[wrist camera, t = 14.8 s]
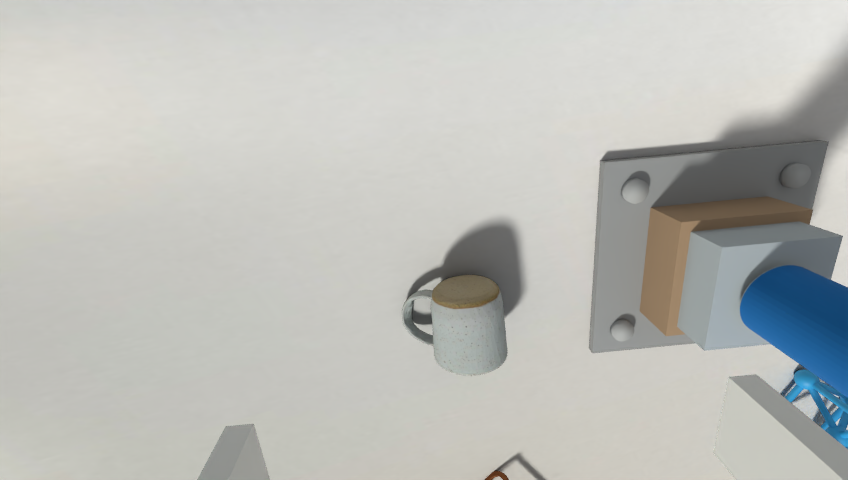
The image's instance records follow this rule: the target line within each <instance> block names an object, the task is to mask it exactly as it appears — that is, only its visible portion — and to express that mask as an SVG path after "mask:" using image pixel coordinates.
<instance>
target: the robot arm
mask: <svg viewBox="0 0 848 480" xmlns="http://www.w3.org/2000/svg"><path fill="white" fill-rule="evenodd" d="M713 453H714V454H715V456H716V457H717V458H718V459H719V460H720V461H721V463H722V464H723V465H724V466H725V467H726V469H727V470H728V471H729V472H730V473H731V475H732V476H733V477H734V478H735V479H736V480H848V449H847V448H846V447H844V446H843V445H842V444H841V443H839V442H838V441H837V440H836V439H835V438H833V437H832V436H831V435H830V434H828V433H827V432H826V431H825V430H823V429H822V428H821V427H820V426H819V425H817V424H816V423H815V422H814V421H812V420H811V419H810V418H809V417H808V416H806V415H805V414H804V413H803V412H801V411H800V410H799V409H798V408H797V407H795V406H794V405H793V404H792V403H790V402H789V401H788V400H787V399H786V398H784V397H783V396H782V395H781V394H779V393H778V392H777V391H776V390H775V389H773V388H772V387H771V386H770V385H768V384H767V383H766V382H765V381H764V380H762V379H761V378H760V377H759V376H757V375H756V374H755V375H745V376H735V377H729V378H728V383H727V388H726V393H725V397H724V402H723V407H722V412H721V417H720V422H719V427H718V432H717V437H716V442H715V447H714V451H713ZM197 480H270V478H269V475H268V471H267V468H266V464H265V461H264V458H263V454H262V451H261V447H260V444H259V440H258V437H257V434H256V430H255V427H254V424H247V425H237V426H226V427H225V429H224V431H223V433H222V434H221V436H220V438H219V440H218V442H217V444H216V446H215V447H214V449H213V451H212V453H211V455H210V457H209V459H208V461H207V462H206V464H205V466H204V468H203V470H202V472H201V474H200V476H199V477H198V479H197Z"/></svg>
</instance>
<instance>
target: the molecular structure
mask: <svg viewBox="0 0 848 480" xmlns="http://www.w3.org/2000/svg"><path fill="white" fill-rule="evenodd" d="M794 381H795V383H796V384H797V385H796V386H795V387H794V388H793V389H792V390H791V391H790V393H789V394H788V395H787V396H786V397H785V398H786V399H787V400H788V401H789V402H790V403H791V402H792V401H793V400H794V399H795V398H796V397H797V396H798V394H799V393H800V392H801V391H802V390H803V389H808V390H809V392H810V394H811V396H812V397H813V399H814V401H815V403H816V405H817V406H818V408H819V410H820V412H821V413H822V415H823V417H824V419H825V422H824V423H823V424H822V426H821V428H822V429H823V430H825V431H826V432H827V433H828V434H830V435H831V436H832V437H833V438H835V439H836V440H837V441H838V442H839V443H841V444H842V445H843V446H844V447H846V448H847V449H848V430H846V428H847V425H848V397H846V396H845V395H843V394H842V393H840V392H839V391H838V390H836V389H835V388H833V387H831V386H829V385H826V384H824V383H822V382H820V380H819V378H818V376H816V375H815V374H813V373H812V372H810V371H809V370H804V369H803V370H799V371H797V372H796V373H795V374H794ZM817 391H818V392H819V393H820V394H822V395H823V396H824V397H826V398H827V399H829V400H830V401H831V402H833V403H834V404H835V405H837V406H838V407H839V408H838V409H837V410H836V411H835V412H834V413H833V414H832V415H830V413H829V411H828V409H827V408H826V406H825V404H824V402H823V401H822V399H821V397H820V395H819V393H818V392H817ZM831 393H833V394H835V395H838V396H839V397H840V399H838V398H837V397H836V396H834V395H833V394H831ZM840 417H841V418H840ZM839 418H840V421H839V423H838V426H837V425H836V424H835V423H836V421H837V420H838V419H839Z"/></svg>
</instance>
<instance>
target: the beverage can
mask: <svg viewBox="0 0 848 480" xmlns="http://www.w3.org/2000/svg"><path fill="white" fill-rule="evenodd" d="M739 312H740V317H741V320H742V321H743V323H744V324H745V325H746V326H747V327H748V328H749V329H750V330H752V331H753V332H755V333H756V334H758V335H759V336H760V337H762V338H763V339H765V340H766V341H768V342H769V343H770V344H772V345H773V346H775V347H776V348H778V349H779V350H780V351H782V352H783V353H785V354H786V355H788V356H789V357H790V358H792V359H793V360H795V361H796V362H798V363H799V364H800V365H802V366H803V367H805V368H806V369H808V370H809V371H810V372H812V373H813V374H815V375H816V376H818V377H819V378H820V379H822V380H823V381H825V382H826V383H828V384H829V385H830V386H832V387H833V388H835V389H836V390H838V391H839V392H840V393H842V394H843V395H845V396H846V397H848V288H847V287H845V286H843V285H841V284H839V283H836V282H834V281H832V280H830V279H828V278H825V277H823V276H821V275H819V274H816V273H814V272H812V271H810V270H808V269H805V268H803V267H800V266H796V265H784V266H779V267H775V268H772V269H770V270H768V271H766V272H764V273H763V274H761V275H760V276H758V277H757V278H755V279H754V280H753V281H752V282H751V283H750V284H749V285H748V287H747V288H746V290H745V291H744V294H743V296H742V298H741V301H740V307H739Z"/></svg>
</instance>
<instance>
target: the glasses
mask: <svg viewBox="0 0 848 480" xmlns="http://www.w3.org/2000/svg"><path fill="white" fill-rule="evenodd" d="M497 476H500V477H501V478H502V479H503V480H509V479H508V478H507V476H506V475H505V474H504V473H502V472H500V471H494V472H492V473H491V474H490V475H489V476H488V477H487V478H486V479H485V480H492V479H493V478H494V477H497Z"/></svg>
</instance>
